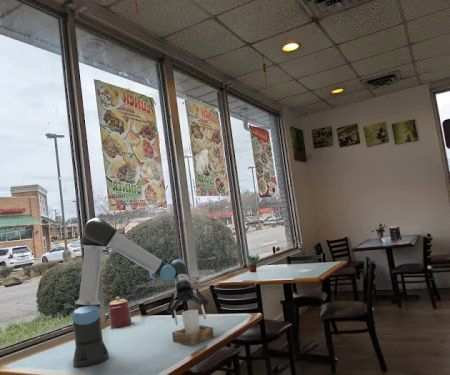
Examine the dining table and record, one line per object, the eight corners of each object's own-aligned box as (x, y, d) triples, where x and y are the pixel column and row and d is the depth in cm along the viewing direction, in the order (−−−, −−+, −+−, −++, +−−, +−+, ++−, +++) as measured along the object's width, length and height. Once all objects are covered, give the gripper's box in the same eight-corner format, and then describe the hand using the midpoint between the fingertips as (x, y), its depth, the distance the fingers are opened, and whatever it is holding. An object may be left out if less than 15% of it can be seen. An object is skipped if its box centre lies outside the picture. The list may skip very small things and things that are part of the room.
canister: (108, 326, 253) (105, 297, 255) (129, 321, 259) (126, 293, 260) (112, 329, 241) (108, 299, 243) (133, 324, 247) (130, 295, 249)
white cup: (202, 329, 196) (199, 308, 197) (199, 334, 188) (196, 312, 189) (186, 331, 197) (183, 310, 198) (183, 336, 189) (180, 314, 190)
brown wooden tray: (189, 345, 182) (187, 335, 183) (173, 341, 193) (172, 332, 194) (213, 336, 191) (212, 327, 192) (197, 333, 202) (196, 324, 202)
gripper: (158, 284, 202) (164, 321, 186) (206, 276, 208) (216, 310, 192) (158, 294, 207) (165, 330, 191) (206, 285, 213) (216, 319, 197)
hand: (191, 320), depth 191 cm, fingers open, 13 cm apart
